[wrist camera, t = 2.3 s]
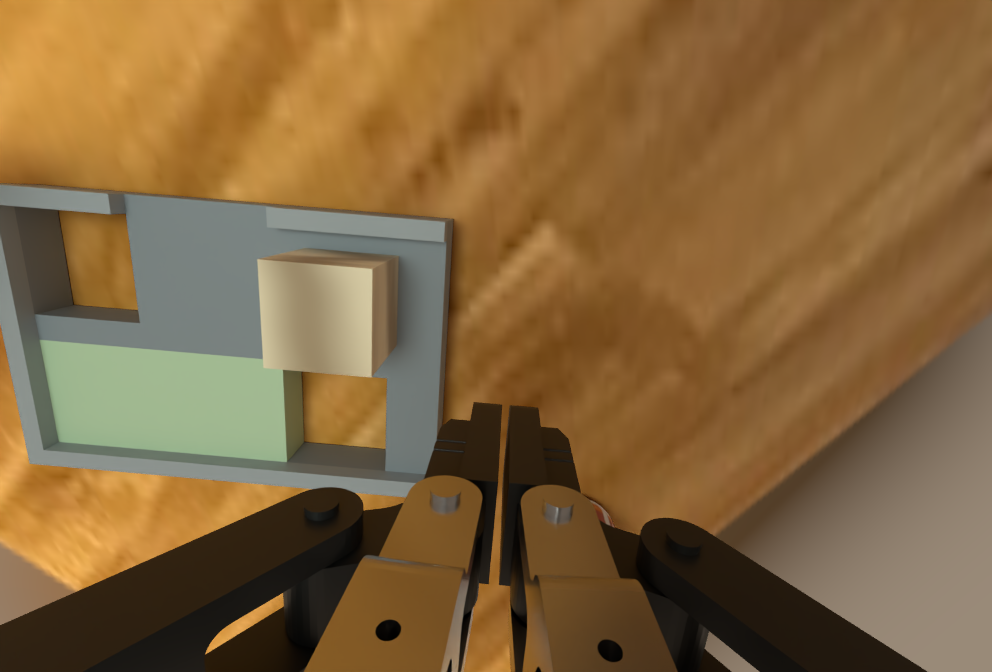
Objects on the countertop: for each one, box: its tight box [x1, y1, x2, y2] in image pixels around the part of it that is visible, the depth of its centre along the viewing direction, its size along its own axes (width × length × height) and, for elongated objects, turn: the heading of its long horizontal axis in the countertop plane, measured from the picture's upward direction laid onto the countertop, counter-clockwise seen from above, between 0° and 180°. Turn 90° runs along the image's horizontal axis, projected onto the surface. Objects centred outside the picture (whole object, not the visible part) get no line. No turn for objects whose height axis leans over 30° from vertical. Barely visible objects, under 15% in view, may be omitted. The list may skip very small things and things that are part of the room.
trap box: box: [0, 183, 453, 497], centre depth 28 cm, size 24×16×4 cm, turn 85°
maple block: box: [257, 248, 399, 377], centre depth 24 cm, size 5×5×5 cm
